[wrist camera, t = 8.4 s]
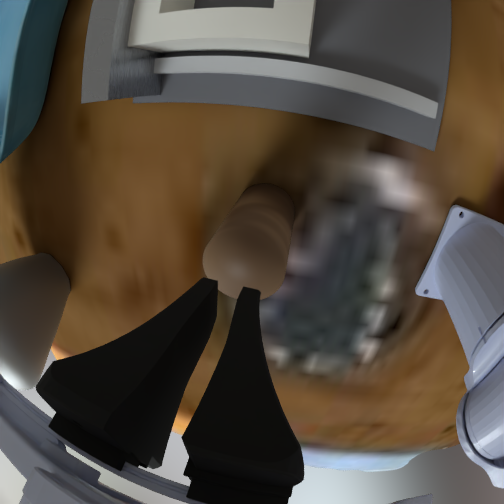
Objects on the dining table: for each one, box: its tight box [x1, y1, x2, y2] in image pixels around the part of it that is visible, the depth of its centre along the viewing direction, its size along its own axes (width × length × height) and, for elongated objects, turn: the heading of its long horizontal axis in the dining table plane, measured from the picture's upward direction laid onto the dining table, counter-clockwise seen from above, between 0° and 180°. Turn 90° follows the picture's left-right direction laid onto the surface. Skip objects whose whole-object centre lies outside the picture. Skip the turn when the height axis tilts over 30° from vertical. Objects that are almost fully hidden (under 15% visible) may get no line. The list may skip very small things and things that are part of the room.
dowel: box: [203, 183, 295, 300], centre depth 16 cm, size 4×4×7 cm
